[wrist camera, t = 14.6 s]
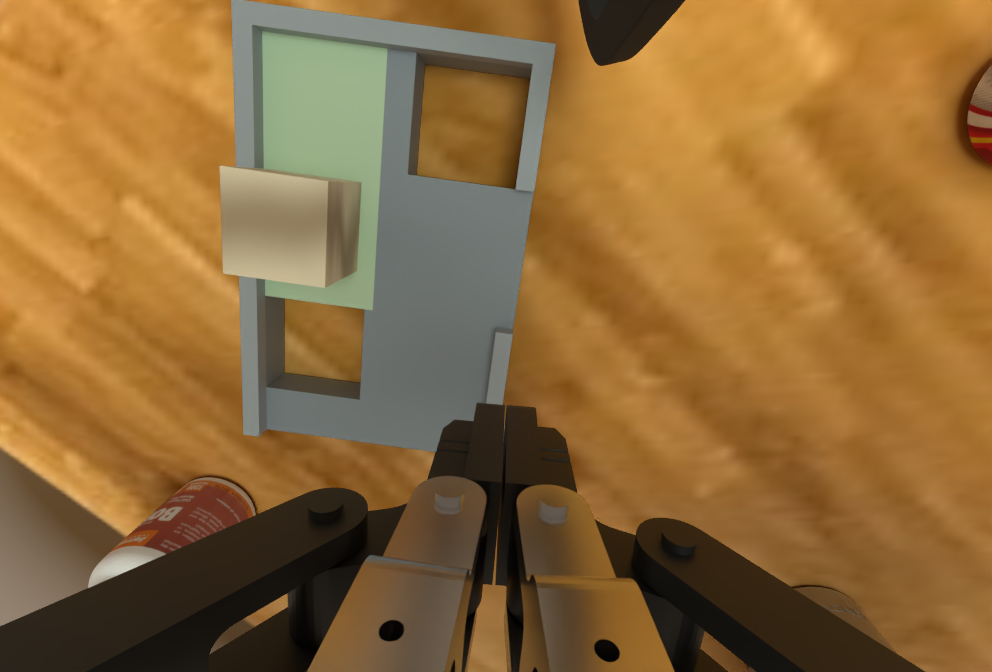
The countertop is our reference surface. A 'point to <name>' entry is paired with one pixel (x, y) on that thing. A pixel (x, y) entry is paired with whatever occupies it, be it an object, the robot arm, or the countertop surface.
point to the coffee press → (622, 26)
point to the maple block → (289, 225)
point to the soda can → (982, 117)
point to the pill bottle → (178, 525)
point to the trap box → (383, 221)
